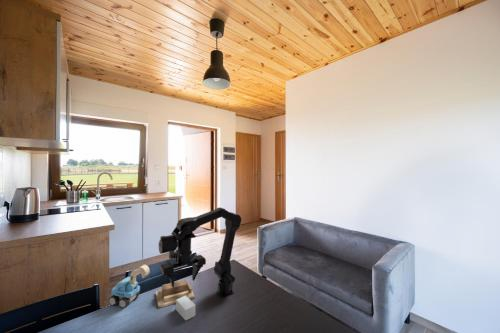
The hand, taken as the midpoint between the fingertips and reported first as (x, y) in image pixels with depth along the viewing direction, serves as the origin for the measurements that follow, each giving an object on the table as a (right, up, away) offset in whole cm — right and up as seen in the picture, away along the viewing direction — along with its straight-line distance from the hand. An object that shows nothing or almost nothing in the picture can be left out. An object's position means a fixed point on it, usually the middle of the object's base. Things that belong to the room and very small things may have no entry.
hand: (183, 283), depth 95 cm
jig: (-7, -11, +9) cm, 16 cm away
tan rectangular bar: (-7, -10, +9) cm, 15 cm away
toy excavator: (-25, -11, +3) cm, 28 cm away
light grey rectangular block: (+2, -11, -2) cm, 12 cm away
